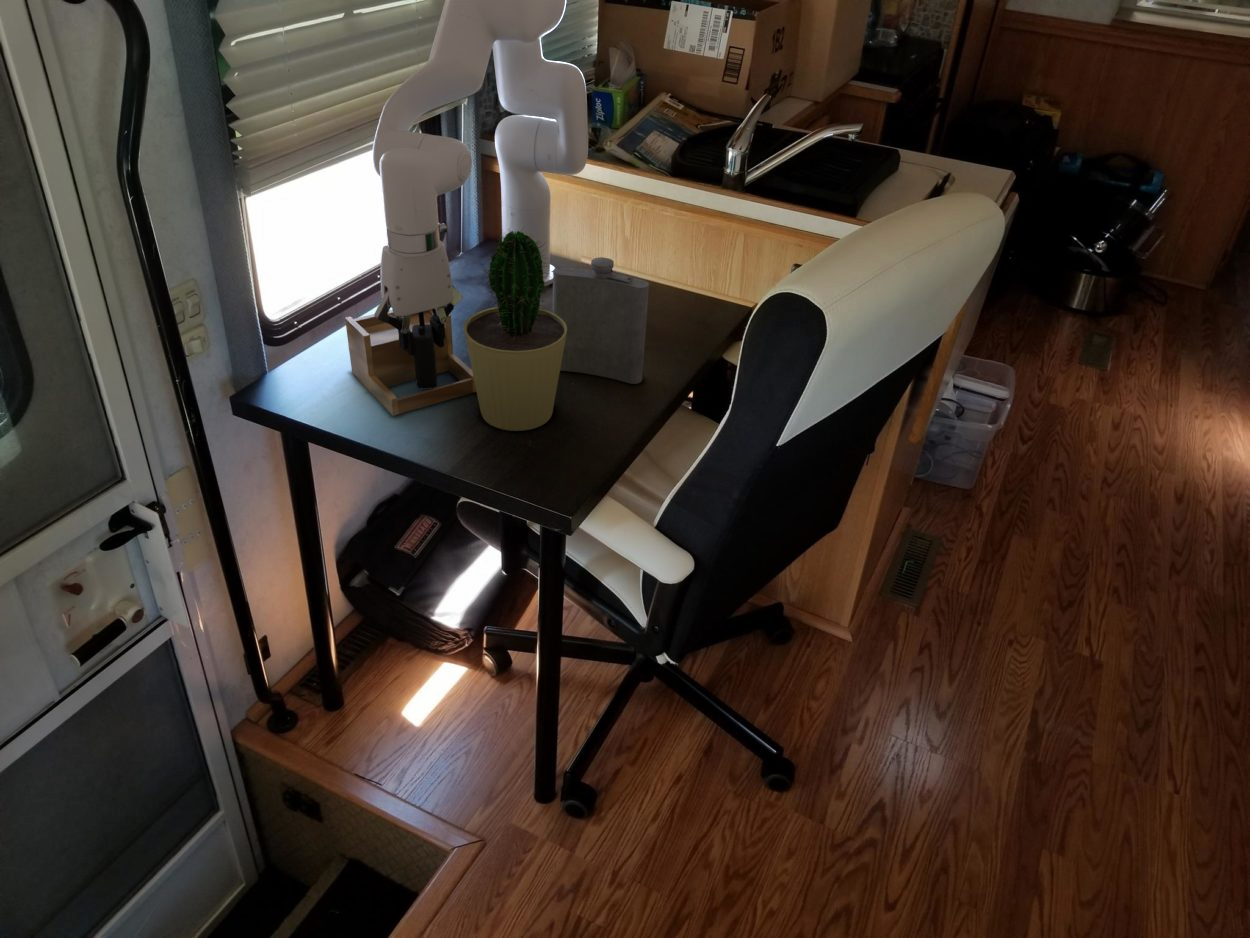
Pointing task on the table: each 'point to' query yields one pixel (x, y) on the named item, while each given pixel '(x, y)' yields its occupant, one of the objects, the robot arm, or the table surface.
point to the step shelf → (401, 363)
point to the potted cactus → (516, 340)
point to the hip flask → (602, 320)
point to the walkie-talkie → (424, 354)
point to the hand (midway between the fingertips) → (423, 346)
